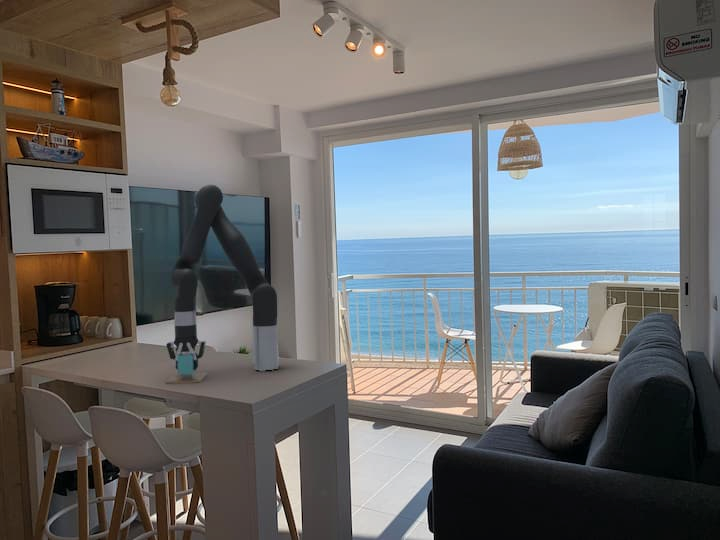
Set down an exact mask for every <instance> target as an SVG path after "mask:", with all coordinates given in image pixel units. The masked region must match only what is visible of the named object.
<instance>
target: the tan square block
mask: <svg viewBox="0 0 720 540" xmlns="http://www.w3.org/2000/svg"><path fill="white" fill-rule="evenodd" d="M208 375H209V372H194V373H193V374H178V373H174V374H173V375H172V376H170V377H169V378H168V379H167V380H166V381H165V384H166V383H172V384H194V382H200V383H201V382H202V381H203V380H204V379H205V378H206V377H208Z"/></svg>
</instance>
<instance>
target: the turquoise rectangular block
mask: <svg viewBox="0 0 720 540" xmlns="http://www.w3.org/2000/svg"><path fill="white" fill-rule="evenodd" d="M177 359H178V369H177V374H193V373H196V372H197V369H196V370H194V363H193V360H194V359H193V355H191V353H190V352H188V353H182V354H181V355H178V356H177Z"/></svg>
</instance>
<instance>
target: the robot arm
mask: <svg viewBox="0 0 720 540" xmlns="http://www.w3.org/2000/svg"><path fill="white" fill-rule="evenodd" d="M223 200H224V195H223V191H222V190H221V189H220V187H219V186H217V185H214V184H207V185H204V186H202V187H201V188H200V189H199V190H198V191H197V192H196V194H195V196H194V203H195V206H196V208H197V210H196V214H195V216H194V220H193V221H192V224H191V226H190V229H189V231H188V234H187V236H186V238H185V241H184V244H183V247H182V250H181V254H180V256H179V257H178V259H177V260H176V263H175V265H174V266H173V268H172V271H171V273H170V282H171V285H173V286H174V287H176V288H178V291H179V292H178V294H177V295H176V296H175V297H174V323H173V324H174V340H173V341H169V342H168V343H166V344H165V345H166V348H167V352H168V355H169V358H170V360H174V361H175V369H176V370H178V359H177V356H178V355H181V354H182V353H183V352H185V351H187V352H188V353H191V355H193V359H194V360H193V363H194V370H196V371H197V370H198V369H199V359H202V357H204V354H205V353H204V352H205V349H206V344H207V341H206V340H203V341H202V340H199V339H198V333H197V332H198V331H197V314H196V301H195V300H196V297H197V295H196V294H197V291H198V286H199V285H198V284H199V280H198V275H197V273H196V271H195V270H194V269H193V268H194V267H195V265H198V264H199V263H200V260H201V258H202V255H203V252H204V249H205V245H206V242H207V238H208V235H209V232H210V228H211V229H212V231H213V234H214V235H215V237H216V239H217V241H218V242H219V243H218V244H220V246H221V248H222V250H223V252H224V254H225V255H226V257H227V259H228V260H229V262H230V263H231V264H232V266H233V268H235V270H236V272H237V273H238V274H239V275H240V277H241V278H242V280H243V282H244V283H245V285H246V287H247V289H248V292H249V294H250V297H251V300H252V339H253V340H252V341H253V370H254V369H255V370H254V371H256V370H259V371H258V372H266V371H265V370H272V371H274V370H273V369H279V368H278V366H279V367H280V360H279V358H280V356H279V354H280V353H279V342H278V295H277V294H278V293H277V290H276V289H275V287H274V286H272V285H271V284H270V283H269V282H268V280H267V279H266V278H265V276H264V275H263V273H262V272H261V270H260V268H259V266H258V263H257V260H256V258H255V257H256V256H255V255H254V253H253V251H252V249H251V247H250V245H249V243H248V241H247V239H246V237H245V236H244V235H243V234H242V232H241V231H240V229H239V228H237V226H235V224H233V223H232V222H231V220H230V219H229V218H228V217H227V215H226V213H225V210H224V209H223V207H222V203H223ZM197 345H198V347H199V352H197V349H196V347H197ZM174 347H176V348H178V351H177V354H175V350H174Z"/></svg>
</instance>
